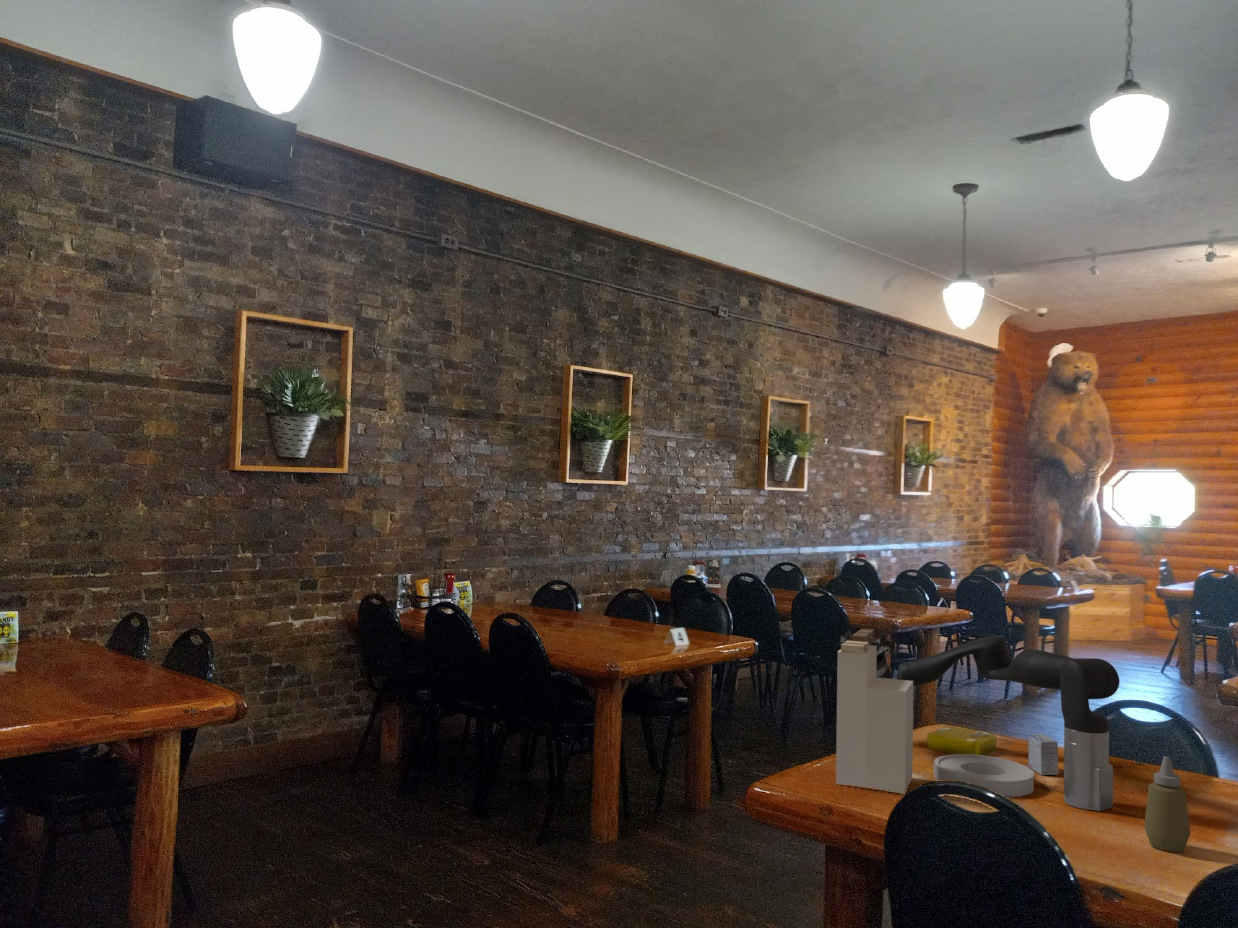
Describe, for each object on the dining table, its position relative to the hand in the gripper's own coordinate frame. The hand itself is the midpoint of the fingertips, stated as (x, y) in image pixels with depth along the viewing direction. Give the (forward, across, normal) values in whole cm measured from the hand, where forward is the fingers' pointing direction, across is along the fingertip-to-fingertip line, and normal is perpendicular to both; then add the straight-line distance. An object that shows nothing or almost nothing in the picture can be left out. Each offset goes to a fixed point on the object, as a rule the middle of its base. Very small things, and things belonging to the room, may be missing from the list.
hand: (864, 634), depth 240 cm
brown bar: (+8, 0, -6) cm, 10 cm away
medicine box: (-32, -43, -20) cm, 57 cm away
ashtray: (-17, -29, -30) cm, 45 cm away
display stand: (-6, -4, -36) cm, 36 cm away
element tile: (-45, -22, -14) cm, 52 cm away
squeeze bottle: (+9, -65, -44) cm, 79 cm away
